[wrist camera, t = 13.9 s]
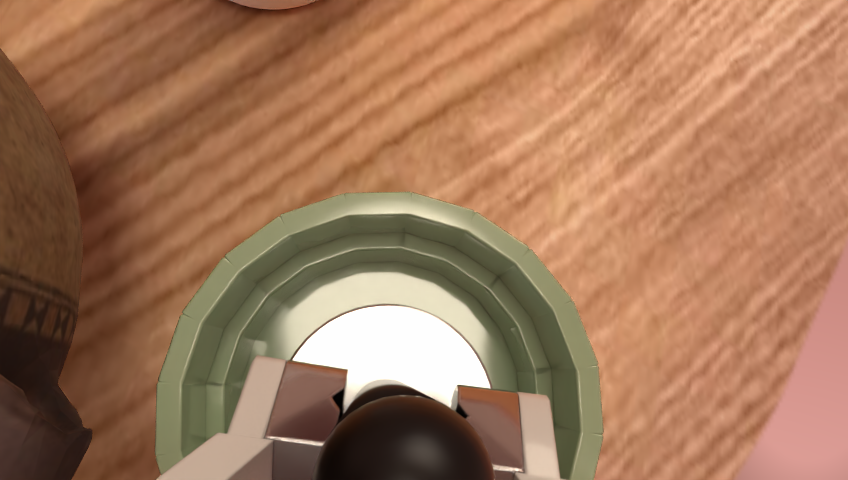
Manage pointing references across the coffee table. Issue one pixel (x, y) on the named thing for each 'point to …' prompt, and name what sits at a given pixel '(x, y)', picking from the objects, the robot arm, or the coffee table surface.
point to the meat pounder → (398, 397)
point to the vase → (36, 290)
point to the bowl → (380, 284)
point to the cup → (273, 3)
